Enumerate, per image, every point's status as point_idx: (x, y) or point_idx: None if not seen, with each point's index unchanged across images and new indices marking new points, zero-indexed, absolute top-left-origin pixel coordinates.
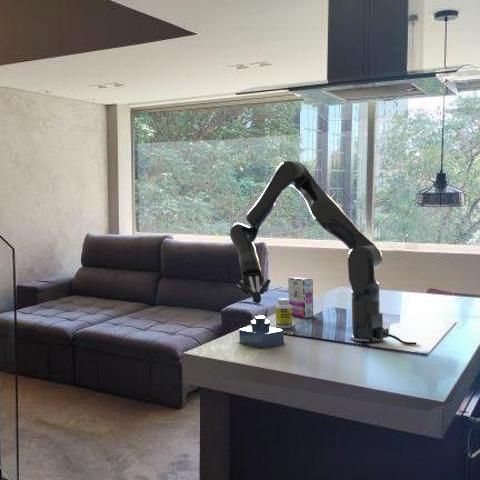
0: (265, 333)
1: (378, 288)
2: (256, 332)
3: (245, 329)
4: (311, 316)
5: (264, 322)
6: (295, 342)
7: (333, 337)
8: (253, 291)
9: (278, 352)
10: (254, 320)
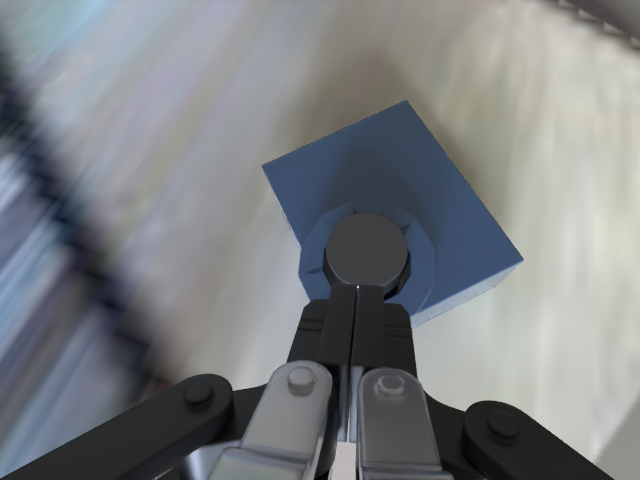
0: (383, 114)
1: None
2: (427, 145)
3: (481, 235)
4: None
5: None
6: (215, 220)
7: (10, 264)
8: (400, 379)
9: (350, 89)
10: None
